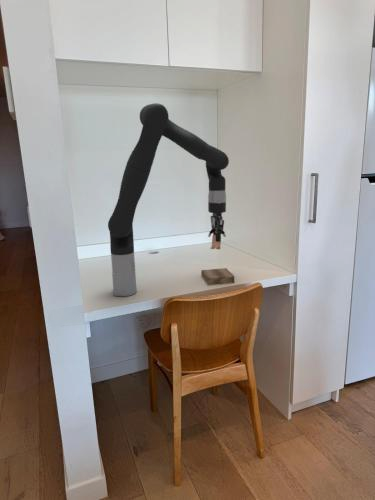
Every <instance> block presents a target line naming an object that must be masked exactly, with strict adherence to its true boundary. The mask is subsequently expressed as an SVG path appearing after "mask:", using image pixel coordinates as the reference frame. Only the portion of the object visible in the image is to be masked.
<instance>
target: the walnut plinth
mask: <svg viewBox="0 0 375 500" xmlns="http://www.w3.org/2000/svg"><path fill="white" fill-rule="evenodd" d="M200 273H201V278H202V279H203V281H204V282H205V283H206V285H207V286H213V285H223V284H235V275H234V274H233V273H232V272H231V271H230V270H229V269H228V268H227V267H225V268H222V267H221V268H214V269H211V268H210V269H201V270H200Z"/></svg>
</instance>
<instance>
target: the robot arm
mask: <svg viewBox="0 0 375 500" xmlns="http://www.w3.org/2000/svg"><path fill="white" fill-rule="evenodd" d="M139 120H140V123H141V125H142V128H141V132H140V135H139V138H138V141H137V143H136V145H135V147H134V148H133V150H132V151H131V154H130V155H129V156H128V159H127V162H126V164H125V168H124V170H123V174H122V177H121V182H120V188H119V194H118V199H117V202H116V204H115V207H114V210H113V211H112V214H111V216H110V218H109V220H108V223H107V228H108V231H109V239H110V244H109V245H110V258H111V259H110V260H111V261H110V262H111V269H112V270H111V272H112V273H111V275H112V287H113V289H112V290H113V296H114V297H117V296H118V297H128V296H133V295H135V294H136V293H137V292H138V291H137V289H138V288H137V276H136V262H135V246H134V245H135V241H134V228H133V227H134V226H133V223H134V218H135V213H136V209H137V206H138V204H139V201H140V199H141V197H142V195H143V193H144V190H145V189H146V185H147V182H148V179H149V177H150V175H151V174H150V173H151V170H152V168H153V167H152V166H153V163H154V160H155V157H156V153H157V150H158V145H159V144H160V141H161V139H162V137H164V138H166V139H169V140H170V141H171V142H172V143H175V144H176V145H178V147H180V148H181V149H183V150H184V151H186V152H187V153H188V154H190V155H192V156H193V157H195V158H196V159H198V160H201V161H202V160H203V161H204V162H205V169H206V174H207V178H208V196H207V199H208V200H207V203H208V205H207V210H208V213H210V214H211V215H210V224H211V225H210V226H211V230H212V229H213V228H215V232H216V242H220V241H221V242H222V234H221V233H222V232H223V231H224V225H225V220H224V218H223V216H222V215H223V213H226V212H227V193H226V177H224V176H223V175H222V171H223V170H225V169H226V168H227V167H228V165H229V162H230V160H229V157H228V155H227V153H225V152H224V151H222V150H221V149H219V148H217V147H214V146H212V145H210V144H209V143H207V142H206V141H205V140H204V139H202V138H200V137H199V136H198V135H197V134H194V133H193V132H191V131H189V130H187V129H184V128H183V127H181V126H179V125H178V124H176V123H174V121H172V120H170V118H169V112H168V109H167V108H166V106H164V104H161V103H158V102H157V103H150V104H146V105H145V106H143V107H142V108H141V110H140V113H139ZM213 222H214V224H213ZM216 225H217V226H216ZM219 228H220V230H219Z"/></svg>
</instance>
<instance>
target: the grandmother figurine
mask: <svg viewBox="0 0 375 500" xmlns="http://www.w3.org/2000/svg"><path fill="white" fill-rule="evenodd" d="M213 224H214V222H213ZM216 226H217V225H216ZM219 230H220V228H219ZM211 235H212V236H211ZM221 235H222V236H223V237H224V238H225V237H226V236H227V235H226V233H225V231H224V230H223V232H222V233H221ZM207 237H209V238H210V237H212V238H211V246H210V249H211V250H221V242H222V240H221V241H220V242H216V232H215V228H213V229H212V228H211V230H210V231H209V233H208V235H207Z"/></svg>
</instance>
